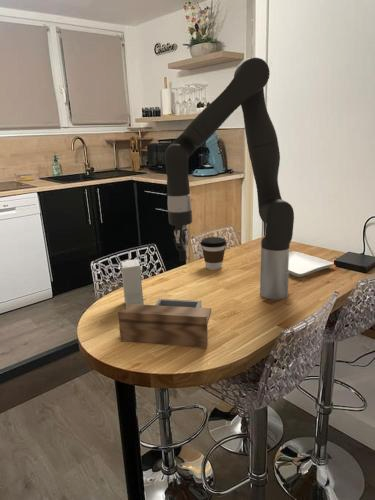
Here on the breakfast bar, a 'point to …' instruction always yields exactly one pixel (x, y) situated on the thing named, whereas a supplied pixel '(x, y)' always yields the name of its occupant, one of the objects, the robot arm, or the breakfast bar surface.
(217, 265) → the coffee cup
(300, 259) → the salad plate
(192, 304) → the slate tray
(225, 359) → the breakfast bar surface
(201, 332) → the walnut cantilever shelf
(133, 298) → the skincare box
